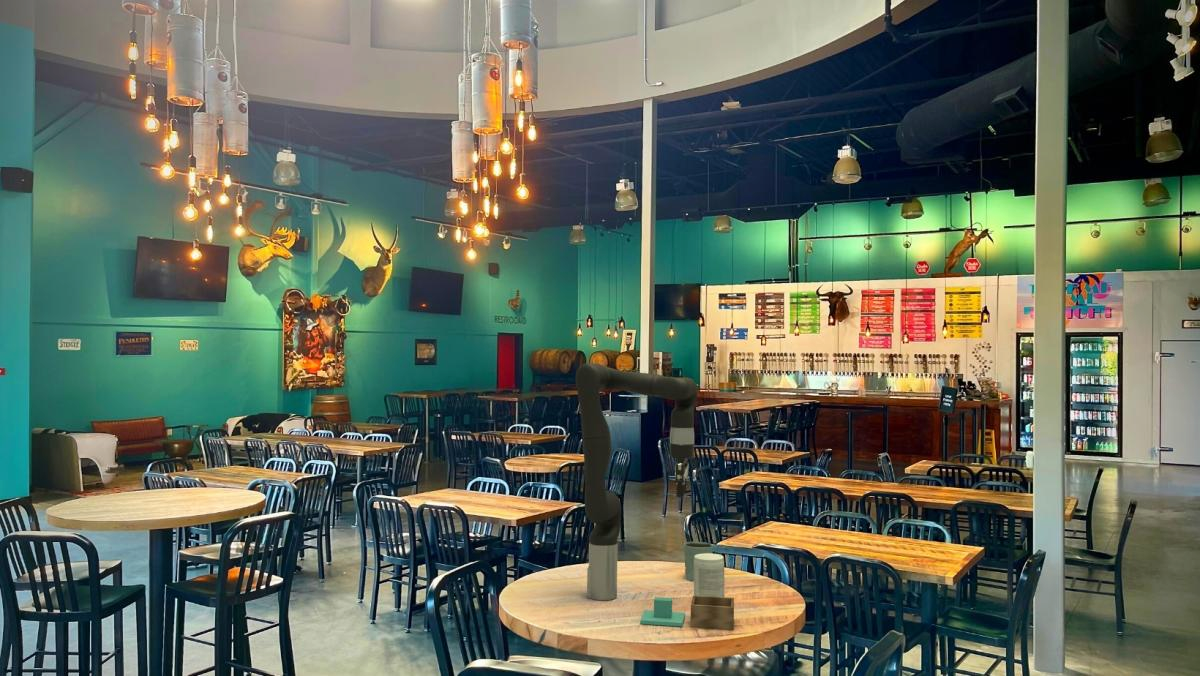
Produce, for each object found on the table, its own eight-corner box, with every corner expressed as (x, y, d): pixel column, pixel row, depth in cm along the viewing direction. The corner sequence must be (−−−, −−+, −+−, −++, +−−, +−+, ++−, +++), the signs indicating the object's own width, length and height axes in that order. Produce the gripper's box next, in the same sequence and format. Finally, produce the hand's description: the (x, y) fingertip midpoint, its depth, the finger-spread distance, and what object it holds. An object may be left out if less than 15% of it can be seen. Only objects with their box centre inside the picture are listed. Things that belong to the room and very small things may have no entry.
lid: (640, 628, 236) (640, 602, 236) (644, 617, 246) (644, 593, 246) (682, 630, 234) (682, 605, 234) (684, 620, 244) (685, 595, 244)
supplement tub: (730, 604, 259) (730, 557, 259) (707, 609, 254) (707, 561, 254) (710, 597, 267) (710, 551, 267) (687, 601, 262) (687, 555, 262)
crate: (690, 630, 234) (690, 605, 234) (692, 619, 244) (692, 595, 244) (733, 632, 232) (733, 607, 232) (733, 621, 242) (734, 597, 242)
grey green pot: (677, 578, 290) (677, 543, 290) (696, 573, 297) (696, 539, 297) (699, 584, 282) (700, 548, 283) (718, 579, 289) (718, 544, 290)
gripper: (672, 439, 263) (671, 490, 263) (667, 443, 249) (666, 497, 249) (695, 440, 262) (695, 491, 261) (692, 444, 248) (691, 499, 247)
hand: (681, 494), depth 255 cm, fingers open, 8 cm apart
